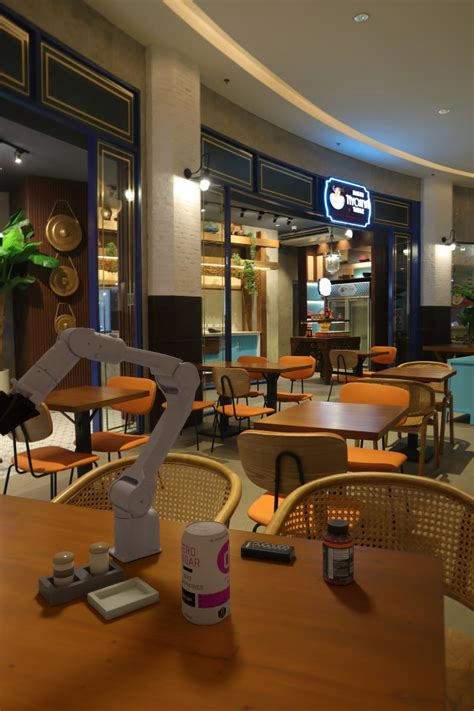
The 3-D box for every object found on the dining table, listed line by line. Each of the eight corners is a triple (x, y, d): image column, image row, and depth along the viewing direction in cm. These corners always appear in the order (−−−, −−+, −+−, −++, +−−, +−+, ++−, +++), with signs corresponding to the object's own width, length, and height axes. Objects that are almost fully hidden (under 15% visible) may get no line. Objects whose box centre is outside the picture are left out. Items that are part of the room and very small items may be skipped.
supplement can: (236, 605, 94) (235, 521, 93) (220, 630, 86) (218, 539, 85) (194, 598, 96) (193, 517, 96) (174, 622, 89) (172, 533, 88)
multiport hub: (289, 565, 111) (289, 554, 111) (240, 557, 115) (240, 547, 114) (295, 556, 115) (294, 546, 115) (246, 550, 119) (246, 539, 119)
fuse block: (108, 569, 108) (108, 557, 108) (124, 582, 103) (124, 569, 103) (38, 591, 100) (38, 578, 100) (52, 606, 94) (51, 592, 94)
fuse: (104, 575, 106) (103, 540, 106) (113, 582, 103) (112, 546, 103) (86, 580, 104) (85, 545, 104) (94, 588, 101) (93, 551, 101)
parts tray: (137, 584, 102) (137, 577, 102) (159, 600, 96) (158, 592, 96) (87, 601, 96) (87, 593, 96) (107, 620, 90) (107, 611, 89)
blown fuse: (70, 585, 102) (69, 549, 102) (78, 593, 99) (77, 556, 99) (50, 592, 100) (49, 555, 99) (57, 599, 97) (56, 562, 96)
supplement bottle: (323, 571, 107) (323, 515, 106) (353, 573, 106) (353, 517, 105) (321, 585, 101) (321, 526, 101) (353, 587, 100) (353, 528, 99)
